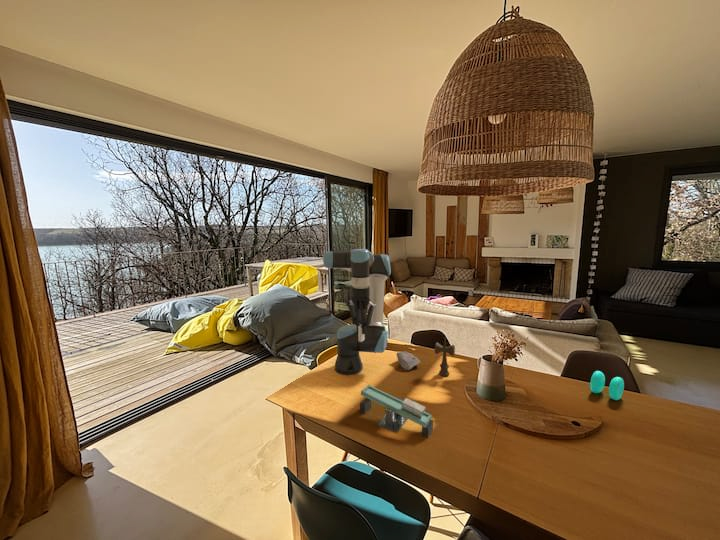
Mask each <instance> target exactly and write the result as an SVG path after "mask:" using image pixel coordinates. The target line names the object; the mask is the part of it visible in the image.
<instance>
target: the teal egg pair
mask: <svg viewBox="0 0 720 540" xmlns="http://www.w3.org/2000/svg"><path fill="white" fill-rule="evenodd" d="M605 383H606V376H605V374H604V373H603V372H602V371H600V370H595V371H594V372H593V374H592V375H591V378H590V386H589V387H590V390H591V392H592V393H594V394H600V393H601V392H602V391H603V390H604V387H605ZM624 389H625V381H624V379H623V377H620V376H615V377H613V378H612V379H611V381H610V383H609V387H608V394H609V397H610V398H611V399H612V400H614V401H620V399H621V398H622V396H623V393H624Z"/></svg>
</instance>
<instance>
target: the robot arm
mask: <svg viewBox="0 0 720 540" xmlns="http://www.w3.org/2000/svg"><path fill="white" fill-rule="evenodd" d="M322 258H323V261H322V262H323V267H324V268H326V269H339V270H340V269H341V270H346V271H348V272H350V276H351V279H350V280H351V298H350V300H348V301H347V302H346V305H347V306H348V310H349V314H350V319H351V323H352V324H349V325H344V326H341V327H339V328H338V330H337V332H336V333H337V334H336V339H337V340H336V345H337V357H336V360H335V363H334V371H335V372H336V373H337V374H340V375H345V376H352V375H356V374H359V373H361V372H362V371H363V369H364V368H363V361H362V359H361V356H360V353H374V354H379V353H380V354H382V353H384V352H385V350H386V347H387V345H388V337H389V331H388V330H386V326H385V325H384V323H383V322H384V306H385V305H384V304H385V288H386V287H385V286H386V284H385V283H386V281H387V280H388V279H389V278H388V277H389V276H390V275H392V274H391V273H392V271H391V270H392V269H391V262H390V257H389V255H388V254H383V253H380V254H379V253H378V254H377V253H375V254H373V253H372V252H371V251H369V250H368V249H367V248H354V249H352V250H350V251H325V252H324V254H323V257H322Z"/></svg>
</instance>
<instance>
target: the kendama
mask: <svg viewBox="0 0 720 540" xmlns="http://www.w3.org/2000/svg"><path fill="white" fill-rule="evenodd" d="M443 341H444V342H443V345H442V344H441V343H439V342H435V343H434V345H435V346H434V354H435V355H438V354H440V353H443V354H442V359H441V363H440V364H439V367H440V370H439V371H438V374H439V376H443V377H448V376H449V375H450V372H449V368H450V365H449V364H448V360H447V359H448V358H447V354H449V355H450V356H451V357H454V356H455V352H456V346H455V344H452V345H449V346H447V338H446V337H444V340H443Z"/></svg>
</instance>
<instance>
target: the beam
mask: <svg viewBox="0 0 720 540" xmlns="http://www.w3.org/2000/svg"><path fill="white" fill-rule="evenodd" d="M360 396H363V397H364V398H368V399H370V400H371V402H372V401H373V402H374V403H376V404H378V405H380V406H381V407H384V408H389V409H392V410H394V412H395V413H397V414H399V415H401V416H403V417H405V418H407V420H409V421H411V422H413V423H415V424H417V425H420V426H421V427H422V426H423V427H425V428H426V426H427V425H428V423H429V421H430V420H432V416H433V414H431V413H429V412H426V411H425V414H424V416H423V418H422V419H419V418H417V417H415V416H413V415H411V414H409V413H407V412H405V411H403V410H401V409H402V403H403V401H404V400H403V401H401V400H399V399H397V398H398V397H397V398H396V397H395V396H393V395H391V394H390V393H387V392H385V391H383V390H380V389H378V388H376V387H374V386H372V385H370V384H368V385H366V386H365V387H364V388H363V389H362V390H361V391H360Z"/></svg>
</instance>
